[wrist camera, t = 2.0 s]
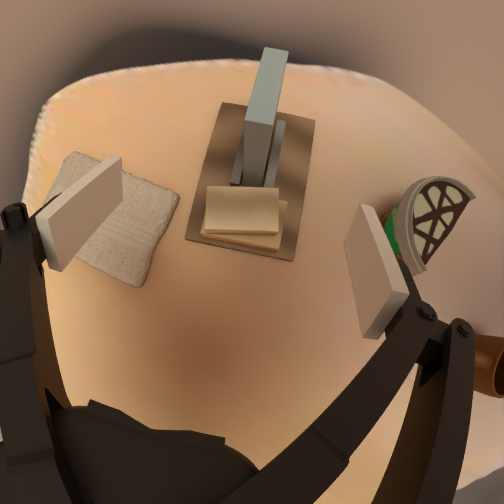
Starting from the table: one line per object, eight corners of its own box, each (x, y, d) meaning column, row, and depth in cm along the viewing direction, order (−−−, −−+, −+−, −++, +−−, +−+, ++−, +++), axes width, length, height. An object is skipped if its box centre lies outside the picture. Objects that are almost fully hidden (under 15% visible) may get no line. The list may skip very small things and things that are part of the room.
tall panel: (260, 190, 33) (272, 125, 19) (242, 186, 33) (244, 120, 19) (272, 130, 34) (288, 51, 21) (256, 127, 34) (264, 47, 21)
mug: (418, 373, 32) (462, 390, 23) (438, 318, 33) (485, 322, 24) (471, 388, 32) (512, 402, 23) (488, 340, 33) (531, 345, 24)
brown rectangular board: (291, 261, 33) (296, 258, 30) (186, 239, 33) (181, 234, 30) (313, 124, 36) (319, 112, 33) (222, 106, 36) (221, 93, 33)
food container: (402, 180, 35) (444, 150, 26) (431, 215, 35) (478, 194, 25) (345, 241, 34) (382, 222, 24) (378, 280, 34) (424, 274, 24)
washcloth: (76, 154, 35) (65, 145, 32) (185, 196, 35) (180, 187, 31) (39, 233, 33) (26, 228, 30) (144, 289, 33) (135, 289, 30)
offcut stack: (276, 252, 32) (282, 245, 28) (203, 237, 32) (196, 228, 28) (284, 205, 33) (292, 191, 28) (214, 191, 33) (210, 174, 28)
